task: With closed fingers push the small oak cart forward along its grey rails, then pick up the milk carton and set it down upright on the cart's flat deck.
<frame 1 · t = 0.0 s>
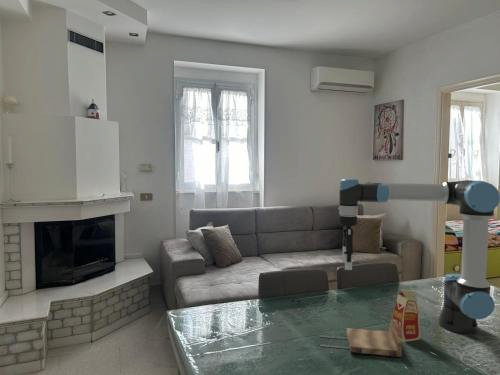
hand: (346, 265, 156), 28 cm above the table, fingers open, 13 cm apart
milk carton: (405, 336, 153), on the table
cart: (372, 337, 143), point 3 cm above the table, slide at 0.0 cm
rails: (358, 344, 144), on the table
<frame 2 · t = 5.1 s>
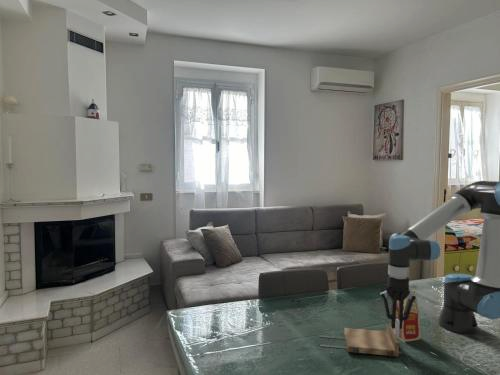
hand: (396, 336, 142), 5 cm above the table, fingers closed
cart: (369, 337, 144), point 3 cm above the table, slide at 1.0 cm, touching gripper
everything else where it was.
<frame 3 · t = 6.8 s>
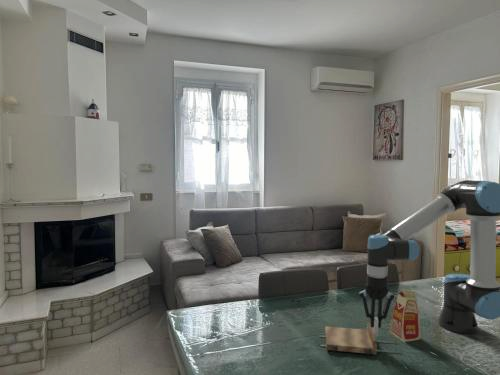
hand: (375, 335, 143), 4 cm above the table, fingers closed
cart: (349, 335, 145), point 3 cm above the table, slide at 8.7 cm, touching gripper
everything else where it was.
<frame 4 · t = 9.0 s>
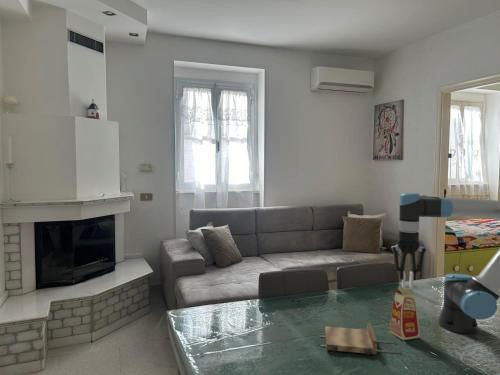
hand: (407, 287, 151), 20 cm above the table, fingers open, 2 cm apart
cart: (349, 335, 145), point 3 cm above the table, slide at 8.7 cm
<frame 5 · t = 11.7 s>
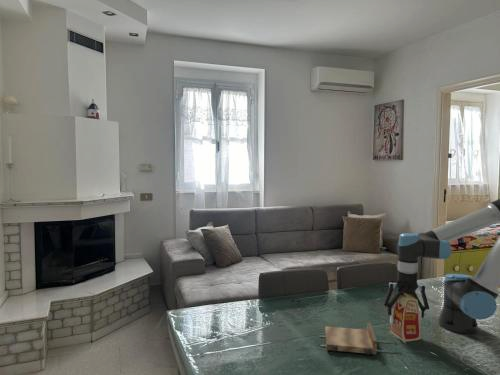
hand: (405, 323, 153), 5 cm above the table, fingers closed on milk carton, 10 cm apart
milk carton: (405, 336, 153), on the table, touching gripper
everything else where it was.
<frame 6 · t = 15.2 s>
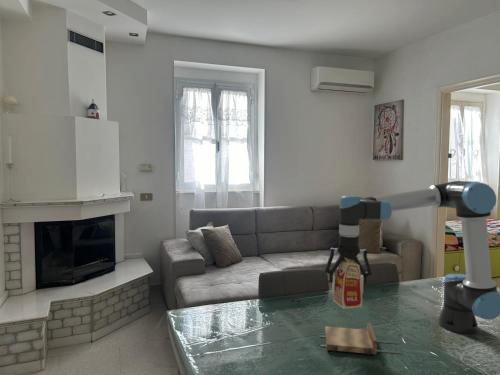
hand: (347, 291, 144), 21 cm above the table, fingers closed on milk carton, 10 cm apart
milk carton: (348, 304, 144), point 16 cm above the table, touching gripper
everything else where it was.
when the fingers open (9 cm above the table, at t = 18.5 s): milk carton drops 2 cm, resting on cart.
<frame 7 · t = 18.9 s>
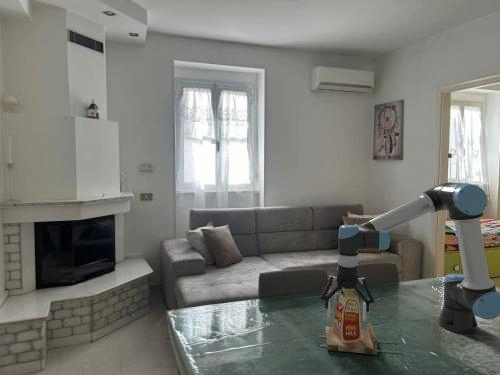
hand: (346, 318, 145), 10 cm above the table, fingers open, 13 cm apart
milk carton: (347, 337, 145), point 3 cm above the table, touching cart
cart: (349, 335, 145), point 3 cm above the table, slide at 8.6 cm, touching milk carton
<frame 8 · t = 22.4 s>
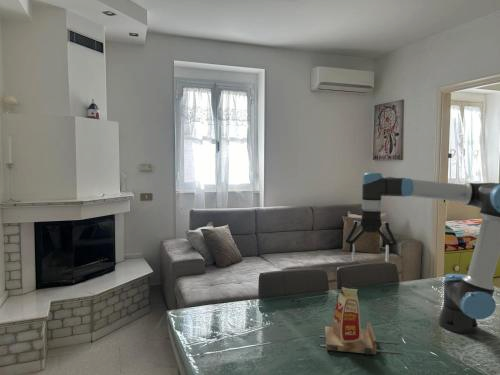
hand: (369, 260, 154), 31 cm above the table, fingers open, 13 cm apart
nothing on the table moved.
at the end: cart slide at 8.8 cm; milk carton 0.9 cm from the cart (horizontally); milk carton tilted 0° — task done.
